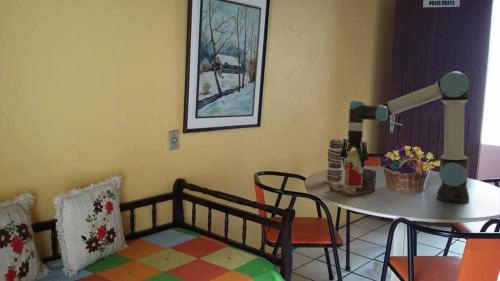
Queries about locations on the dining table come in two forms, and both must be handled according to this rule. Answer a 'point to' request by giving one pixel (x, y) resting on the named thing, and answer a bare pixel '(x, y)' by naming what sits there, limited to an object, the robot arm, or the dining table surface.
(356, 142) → the robot arm
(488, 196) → the dining table surface
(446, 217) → the dining table surface
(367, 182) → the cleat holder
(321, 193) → the dining table surface
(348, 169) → the milk carton
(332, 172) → the decorative candle
